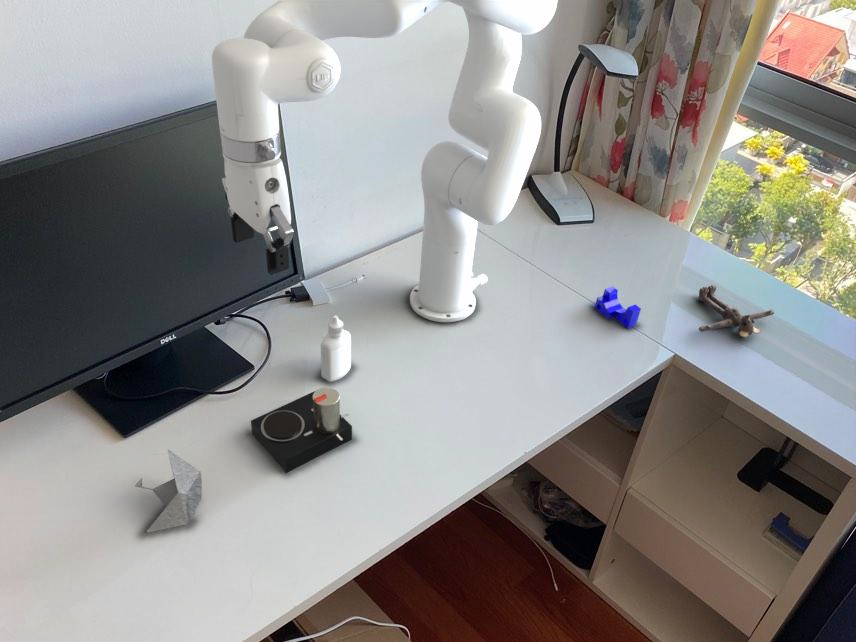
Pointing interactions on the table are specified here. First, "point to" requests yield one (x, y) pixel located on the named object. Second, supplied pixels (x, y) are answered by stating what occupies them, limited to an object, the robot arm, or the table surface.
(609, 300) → the cable holder
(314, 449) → the hot plate
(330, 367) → the eye dropper bottle
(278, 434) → the burner
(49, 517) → the table surface
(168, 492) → the origami crane
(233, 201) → the robot arm
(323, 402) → the knob
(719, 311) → the brown monkey figure
